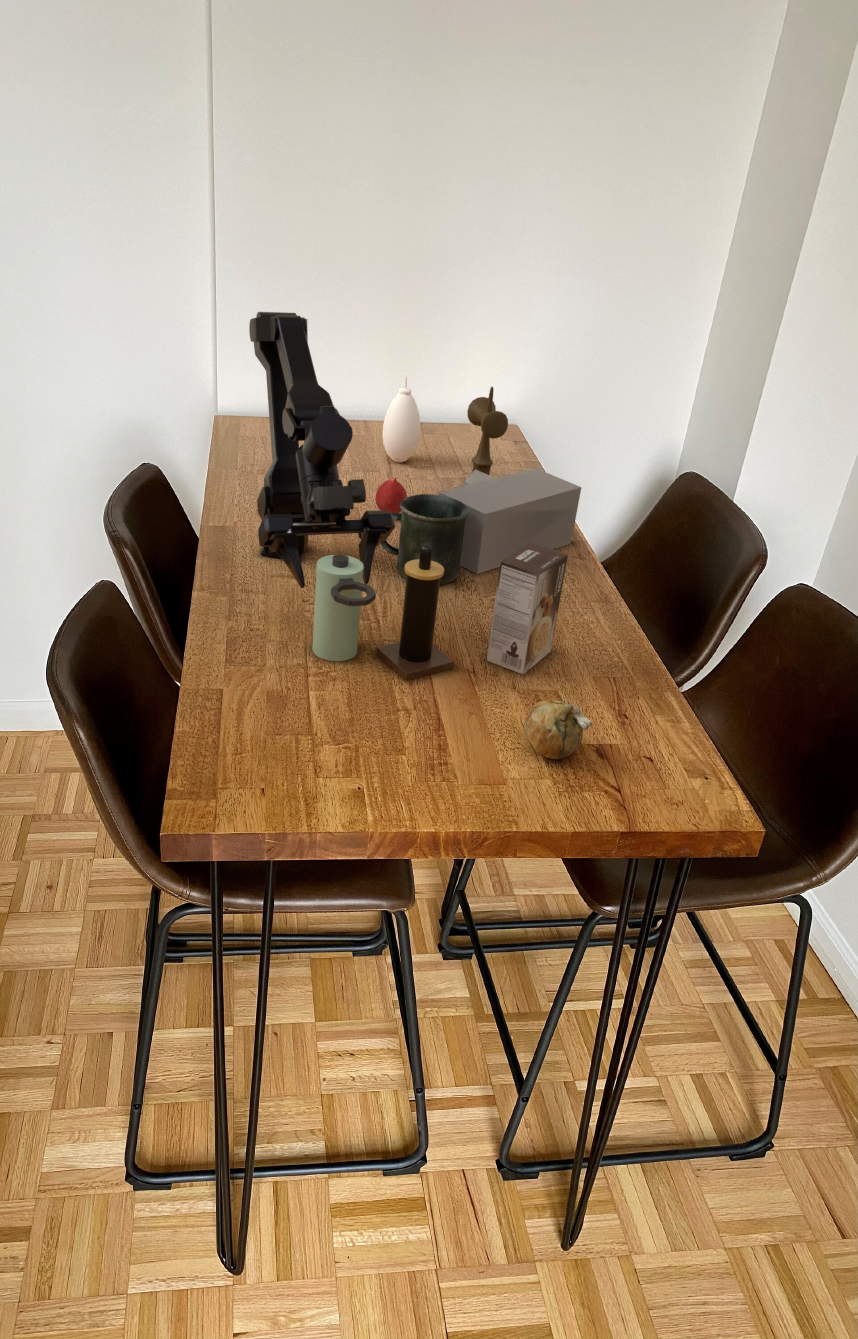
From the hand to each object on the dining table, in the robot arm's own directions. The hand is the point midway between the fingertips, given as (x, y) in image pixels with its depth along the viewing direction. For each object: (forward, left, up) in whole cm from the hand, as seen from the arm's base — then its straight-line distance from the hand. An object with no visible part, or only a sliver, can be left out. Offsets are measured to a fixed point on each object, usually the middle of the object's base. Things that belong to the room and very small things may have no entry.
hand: (335, 585), depth 147 cm
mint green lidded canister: (+2, -5, -9) cm, 11 cm away
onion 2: (+33, -18, -10) cm, 39 cm away
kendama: (+13, +75, -10) cm, 77 cm away
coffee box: (+27, +5, -10) cm, 29 cm away
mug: (+8, +28, -10) cm, 31 cm away
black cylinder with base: (+12, -1, -9) cm, 16 cm away
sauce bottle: (-5, +81, -10) cm, 82 cm away
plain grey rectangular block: (+16, +48, -10) cm, 52 cm away
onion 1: (-1, +50, -10) cm, 51 cm away
